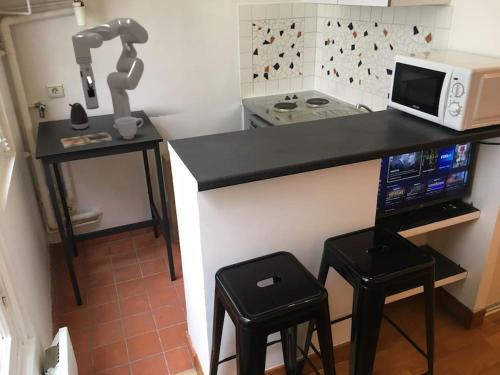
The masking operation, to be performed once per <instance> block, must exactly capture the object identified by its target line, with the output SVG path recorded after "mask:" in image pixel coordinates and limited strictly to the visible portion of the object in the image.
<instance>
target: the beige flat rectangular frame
mask: <svg viewBox="0 0 500 375" xmlns="http://www.w3.org/2000/svg"><path fill="white" fill-rule="evenodd" d="M102 136H105V137H103V138H99V139H92V140H90V138H95V137H102ZM108 141H113V137H112V136H111V135H110V134H109V133H108V132H107V131H105V132H104V131H103V132H100V133H99V132H98V133H94V134H85V135H81V136H75V137H74V136H73V137H69V138H68V137H67V138H61V139H60V142H61V145H62V147H63V148H64V149H68V148H72V147H80V146H84V145H92V144H96V143H102V142H103V143H104V142H108Z"/></svg>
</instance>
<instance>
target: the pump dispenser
mask: <svg viewBox="0 0 500 375" xmlns="http://www.w3.org/2000/svg"><path fill="white" fill-rule="evenodd" d="M68 106H70V107H71V108H70V114H69V120H70V124H71V126H72V127H73V128H74V129H75V130H84V129H86V128H87V127H88V126H89V122H90V119H89V116H88V113H87V111H86V109H85V107H84V106H83V105H82V104H81V103H80V102H74V103H73V104H72V103H68Z"/></svg>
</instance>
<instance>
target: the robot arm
mask: <svg viewBox="0 0 500 375" xmlns="http://www.w3.org/2000/svg"><path fill="white" fill-rule="evenodd" d="M118 37H119V38H120V42H121V45H122V51H121V54H120V56H119V58H118V60H117V62H116V65H115V69H116V71H113V72H110V73H108V74H107V76H106V83H107V86H108V88H109V92H110V93H109V94H110V96H111V97H110V98H111V104H112V109H113V115H114V124H113V125H112V126H113V129H116V130H118V126H117V124H116V122H115V120H116V119H119V118H123V117H132V112H131V106H130V105H131V104H130V98H129V94H128V91H133V90H136V89H137V87H138V85H139V83H140V81H141V78H142V76H143V74H144V71H145V66H144V65H145V64H144V61H143V60H142V59H141V58H138V57H137V56H138V52H137V49H136V47H135V46H134V44H138V45H139V44H141V45H144V44H146V43H147V42H148V41H149V33H148V31H147V30H146V29H145V27H144V26H142V25H141V24H140V23H139V22H138V21H137V20H135V19H133V18H131V17H117V18H113V19H112V20H109V21H107V22H105V23H103V24H98V25H96V26H93V27H89V28H85V29H83V30H81V31H78V32H77V33H75V34H73V35H72V36H71V41H72V46H73V52H74V57H75V58H74V59H75V62H76V64H77V65H79V72H80V71H82V76H83V79H84V82H85V84H87V88H88V90H87V91H88V96H89V98H90V97H95V93H94V88H93V84H92V82H93V83H95V84H96V80H95V75H94V72H93V67H92V64H93V59H92V53H91V49H98V48H100V47H102V45H103V43H104V42H109V41H112V40H114V39H116V38H118ZM87 82H89V83H87ZM88 85H89V86H88ZM136 118H137V117H136ZM138 118H139V117H138ZM138 118H137V119H138ZM139 122H141V120H139Z"/></svg>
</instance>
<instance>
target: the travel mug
mask: <svg viewBox="0 0 500 375" xmlns="http://www.w3.org/2000/svg"><path fill="white" fill-rule="evenodd" d="M79 74H80V79H81V85H82V91H83V95H84V101H85V105H86V110H97V109H99V108H100V105H99V99H98V94H97V88H96V82H95V83H93V82H92V84H93V88H94V93H95V97H90V98H89V96H88V91H87V90H88V88H87V84H85V82H84V79H83V76H82V71H80V70H79ZM87 83H89V82H87ZM88 86H89V85H88Z"/></svg>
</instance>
